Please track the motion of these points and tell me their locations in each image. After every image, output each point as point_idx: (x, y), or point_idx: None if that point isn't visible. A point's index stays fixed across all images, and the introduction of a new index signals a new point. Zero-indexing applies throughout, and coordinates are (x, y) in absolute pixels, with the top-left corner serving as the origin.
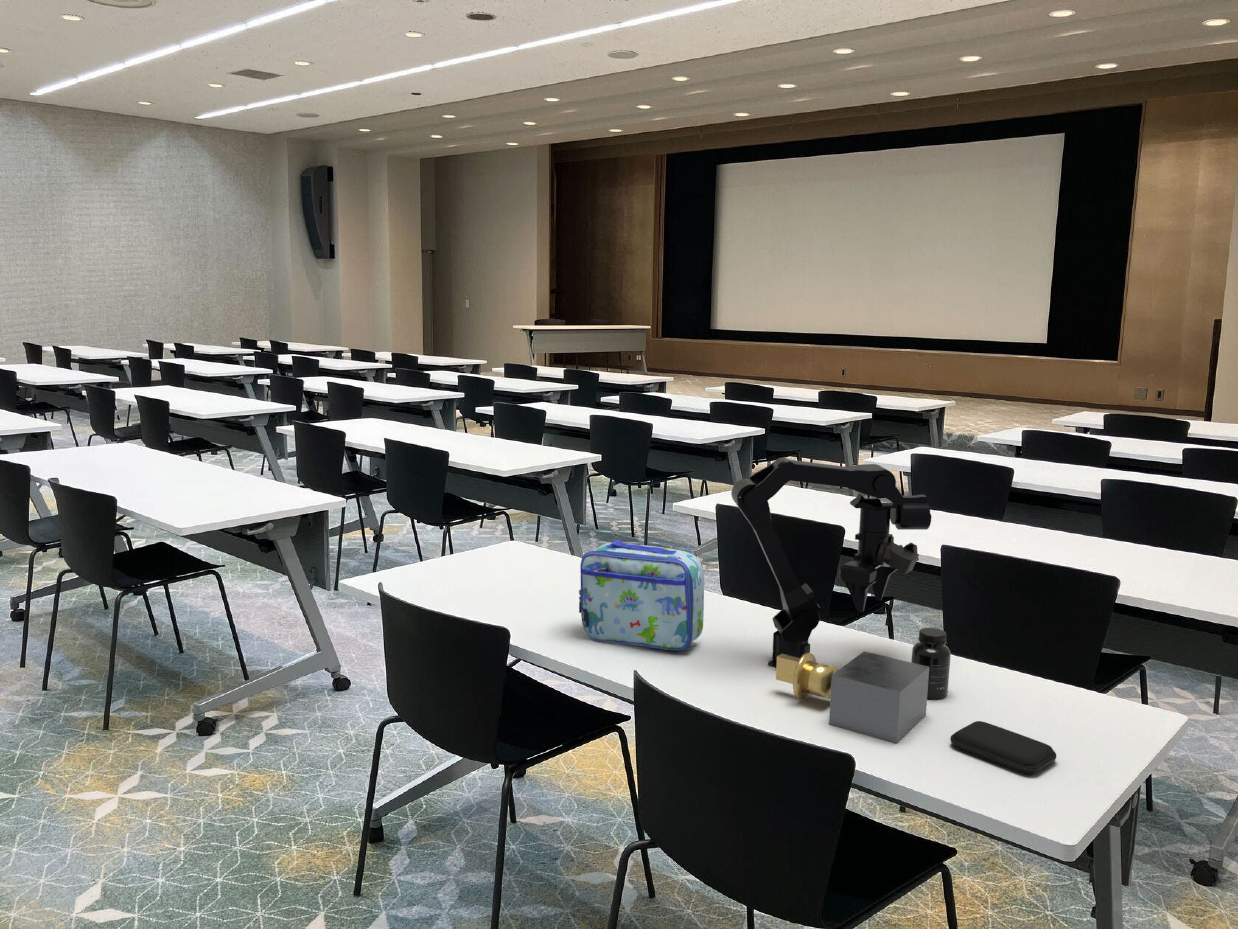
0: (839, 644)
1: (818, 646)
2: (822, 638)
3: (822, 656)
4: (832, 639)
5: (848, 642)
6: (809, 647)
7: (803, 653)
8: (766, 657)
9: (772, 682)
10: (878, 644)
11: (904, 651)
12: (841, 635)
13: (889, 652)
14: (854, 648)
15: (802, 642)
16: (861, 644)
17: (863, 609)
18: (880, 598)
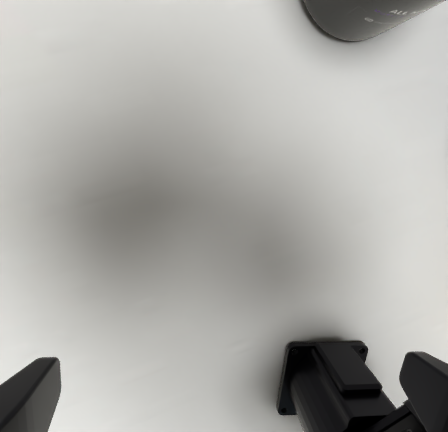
0: (98, 342)
1: (154, 376)
2: (82, 394)
3: (223, 339)
4: (70, 372)
5: (61, 330)
6: (345, 378)
7: (371, 372)
8: (301, 427)
9: (437, 355)
10: (7, 251)
11: (8, 154)
12: (14, 367)
13: (59, 196)
14: (101, 297)
15: (387, 405)
16: (49, 294)
17: (441, 362)
18: (48, 374)
